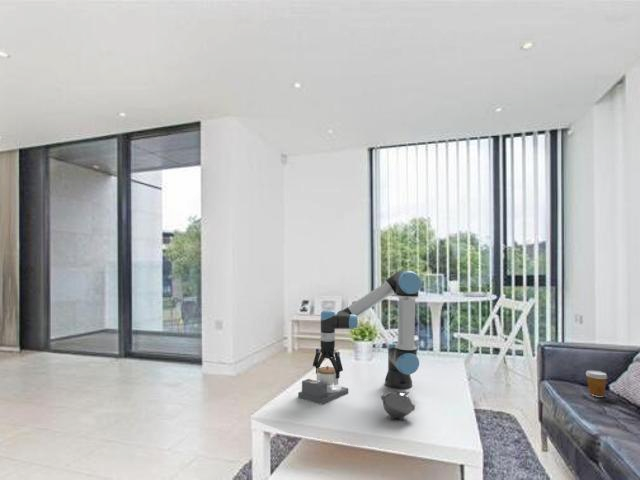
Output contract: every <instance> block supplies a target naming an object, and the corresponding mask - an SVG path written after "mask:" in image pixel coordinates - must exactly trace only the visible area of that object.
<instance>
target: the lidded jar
mask: <svg viewBox="0 0 640 480" xmlns="http://www.w3.org/2000/svg"><path fill="white" fill-rule="evenodd" d="M317 372H318V379H319V382H323V383H327V386H332V385H333V384H334V372H336V371H335V369H334V367H333V366H329V365H326V366H322V367H319V368H318V369H317Z"/></svg>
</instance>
